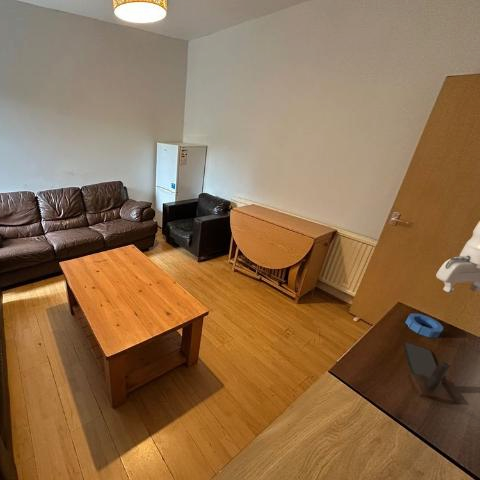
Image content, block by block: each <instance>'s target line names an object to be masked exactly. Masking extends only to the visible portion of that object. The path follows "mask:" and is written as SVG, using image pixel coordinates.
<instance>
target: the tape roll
mask: <svg viewBox="0 0 480 480" xmlns="http://www.w3.org/2000/svg"><path fill="white" fill-rule="evenodd" d="M422 323H423V324H422ZM406 324H407V325H408V326H407V325H406ZM405 325H406V326H407V327H408V328H409V329H410V330H411V331H413V332H414V333H416V334H418V335H421V336H424V337H426V338H432V339H433V338H435V339H437V338H439V337H440V336H441V333H442V332H443V331H444V328H445V327H444V326H443V325H442V324H441V323H440V322H439V321H438V320H436V319H434V318H432V317H430V316H428V315H424V314H422V313H409V314H408V317H407V318H406V320H405ZM424 325H425V326H424Z"/></svg>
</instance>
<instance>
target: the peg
mask: <svg viewBox="0 0 480 480" xmlns="http://www.w3.org/2000/svg"><path fill="white" fill-rule="evenodd" d="M450 369H451V365H450V364H449V363H448V362H445V361H442V360H441V361H440V362H439V363H438V364H437V367H436V369H435V370H434V372H433V373H432V375H431V376H430V377H428V376H424V375H420V374H416V373H411V371H410V372H408V374H407V377H408V378H409V380H410V382H411V383H412V386H413V387H414V389H415V390H416V392H417V394H418V396H419V397H421V398H425V399H429V400H433V401H436V402H441V403H444V404H448V405H452V404H453V403H454V402H455V400H454V399H453V398H452V396H451V395H450V393H449V392H448V390H447V389H446V388H445V386H444V384H442V383H441V382H440V381H441V380H442V379H443V378H444V377H445V375H446V374H447V373H448V371H449V370H450Z"/></svg>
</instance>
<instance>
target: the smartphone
mask: <svg viewBox="0 0 480 480" xmlns="http://www.w3.org/2000/svg"><path fill="white" fill-rule="evenodd" d="M402 345H403V348H404V352H405V355H406V359H407V365H408V367H409V370H410V372H411V373H416V374H420V375H424V376H428V377H430V376H431V375H432V373H433V372H434V370H435V369H436V367H437V366H438V364H437V362H436V360H435V357H434V354H433V352H432V350H430V349H429V348H425V347H423V346H419V345H416V344H413V343H410V342H405V341H404V342H403V344H402ZM440 382H441V383H442V385H444V380H443V378H442V380H441V381H440Z"/></svg>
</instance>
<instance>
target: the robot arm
mask: <svg viewBox="0 0 480 480" xmlns="http://www.w3.org/2000/svg"><path fill="white" fill-rule="evenodd" d="M435 276H436V279H438V280H440V281H442V282H443V283H444V287H443V289H442V290H443V291H445V292H447V293H452V292H454V290H455V289H456V288H455V287H454V285H456V283H471V284H470V286H469V288H468V289H469V290H470V291H473V292H479V291H480V220H479V221H478V223H477V224H476V226H475V228H474V229H473V230H472V236H471V238H470V239H468V240H467V242H465V244H464V246H463V248H462V250H461V251H460V253H459V255H458V256H453V257H452V258H450V259H447V260H446V261H445V262H443V264H442V265H441V267H440V268H439V269H438V271H437V272H436V274H435Z"/></svg>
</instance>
